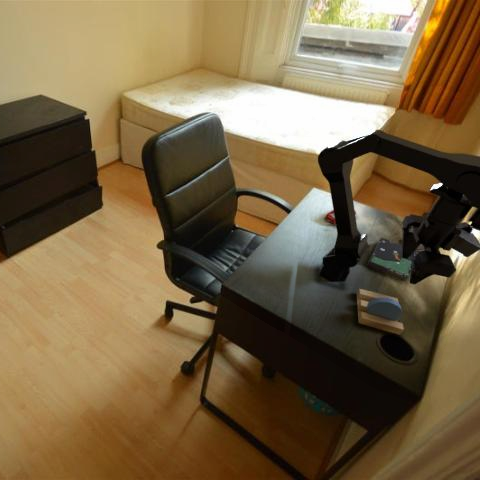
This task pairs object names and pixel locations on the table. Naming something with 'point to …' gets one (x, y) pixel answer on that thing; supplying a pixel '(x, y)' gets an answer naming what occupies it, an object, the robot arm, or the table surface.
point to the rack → (373, 320)
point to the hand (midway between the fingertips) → (408, 270)
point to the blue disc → (385, 308)
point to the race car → (331, 217)
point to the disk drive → (391, 259)
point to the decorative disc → (420, 248)
